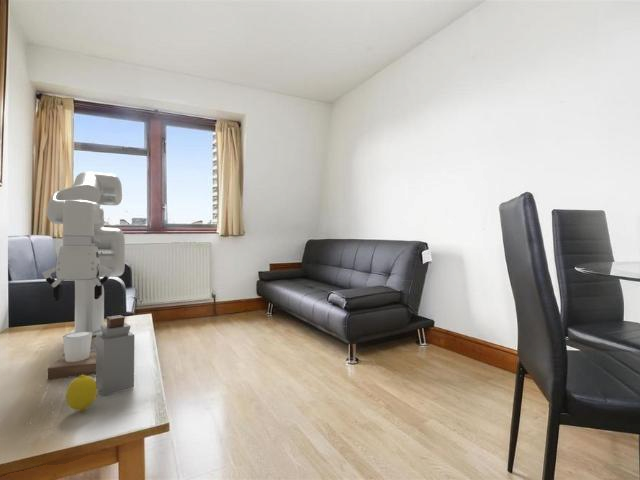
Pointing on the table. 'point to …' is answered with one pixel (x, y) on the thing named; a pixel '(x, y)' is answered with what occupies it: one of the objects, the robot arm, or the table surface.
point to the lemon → (81, 393)
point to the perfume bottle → (114, 357)
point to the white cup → (77, 346)
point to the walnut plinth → (72, 367)
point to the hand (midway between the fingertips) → (78, 299)
